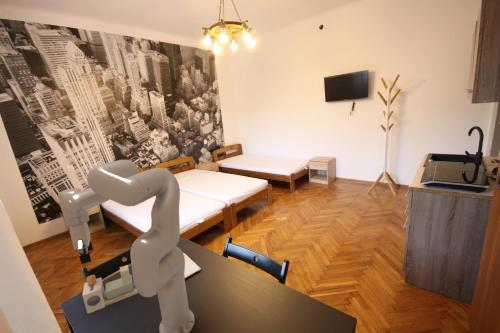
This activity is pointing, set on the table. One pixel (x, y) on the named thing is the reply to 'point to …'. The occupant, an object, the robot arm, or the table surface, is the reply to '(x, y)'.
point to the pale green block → (120, 296)
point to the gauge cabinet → (94, 296)
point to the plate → (190, 266)
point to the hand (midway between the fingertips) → (87, 256)
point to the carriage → (120, 284)
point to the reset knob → (91, 280)
